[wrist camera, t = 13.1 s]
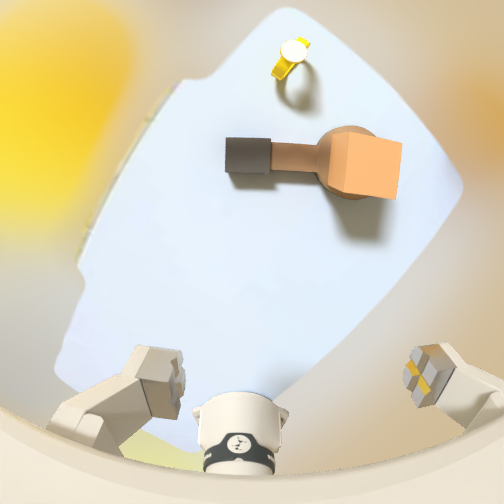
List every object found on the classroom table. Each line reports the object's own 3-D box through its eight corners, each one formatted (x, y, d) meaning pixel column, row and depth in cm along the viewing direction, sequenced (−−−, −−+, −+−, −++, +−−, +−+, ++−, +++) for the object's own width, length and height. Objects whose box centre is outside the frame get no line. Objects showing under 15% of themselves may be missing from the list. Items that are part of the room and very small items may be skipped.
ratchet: (375, 198, 35) (394, 207, 29) (226, 190, 34) (222, 198, 29) (380, 132, 31) (400, 131, 26) (228, 118, 31) (224, 112, 26)
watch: (291, 43, 28) (299, 25, 22) (310, 55, 28) (321, 39, 23) (264, 75, 29) (267, 61, 24) (283, 88, 30) (290, 76, 24)
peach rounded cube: (378, 142, 30) (402, 143, 24) (372, 190, 32) (395, 199, 26) (332, 134, 29) (349, 131, 24) (327, 184, 32) (343, 192, 26)
